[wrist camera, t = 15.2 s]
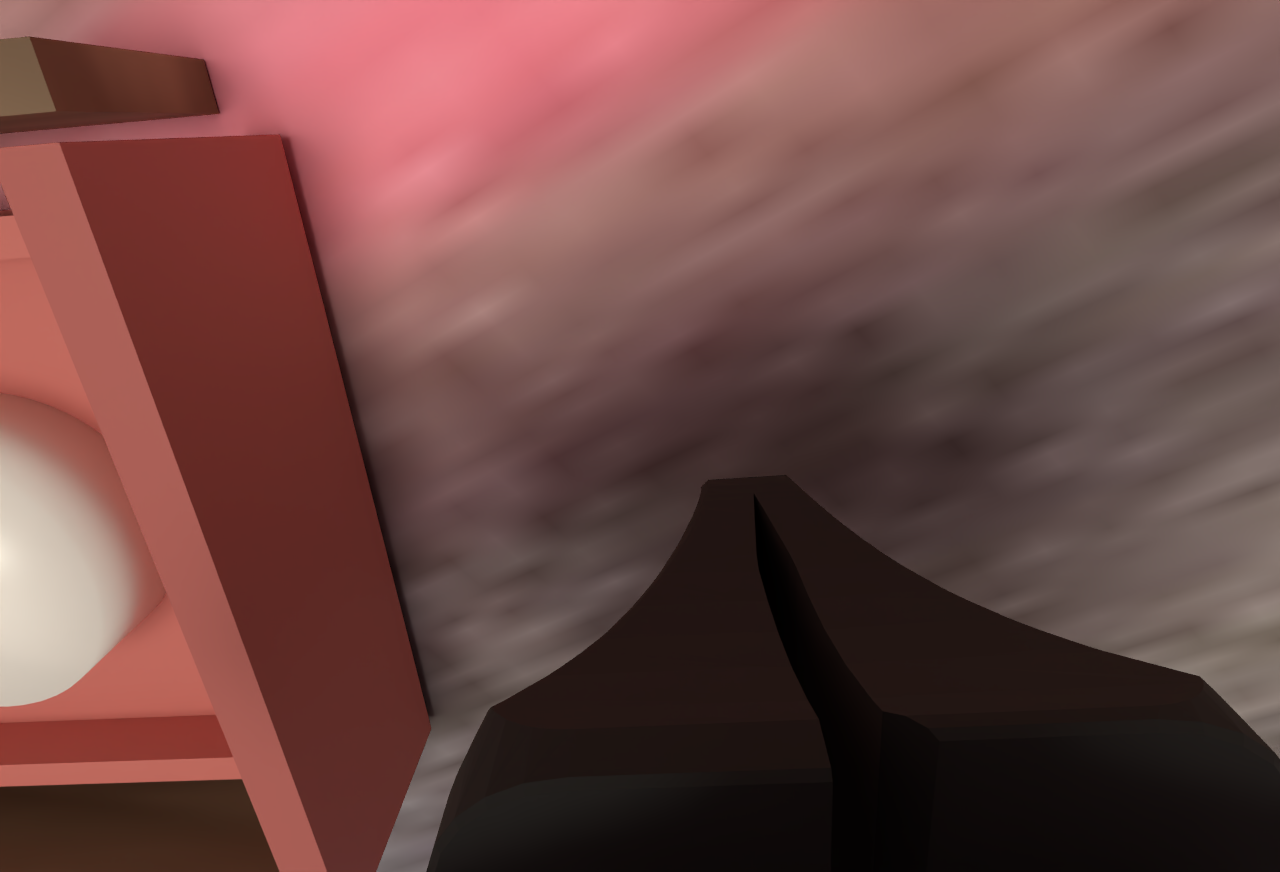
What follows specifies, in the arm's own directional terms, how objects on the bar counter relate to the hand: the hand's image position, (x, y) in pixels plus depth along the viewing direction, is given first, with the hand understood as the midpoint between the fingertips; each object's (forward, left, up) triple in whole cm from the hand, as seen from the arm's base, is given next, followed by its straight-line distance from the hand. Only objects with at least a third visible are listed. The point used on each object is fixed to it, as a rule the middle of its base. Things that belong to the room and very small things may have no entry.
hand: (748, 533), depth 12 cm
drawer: (0, +14, -3) cm, 14 cm away
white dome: (0, +14, -2) cm, 14 cm away
